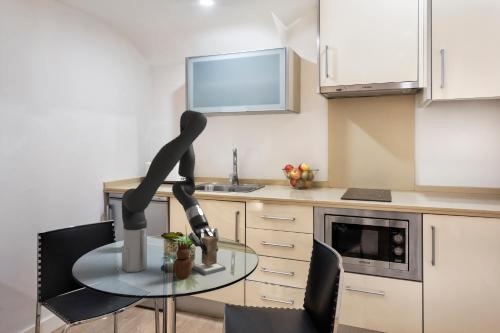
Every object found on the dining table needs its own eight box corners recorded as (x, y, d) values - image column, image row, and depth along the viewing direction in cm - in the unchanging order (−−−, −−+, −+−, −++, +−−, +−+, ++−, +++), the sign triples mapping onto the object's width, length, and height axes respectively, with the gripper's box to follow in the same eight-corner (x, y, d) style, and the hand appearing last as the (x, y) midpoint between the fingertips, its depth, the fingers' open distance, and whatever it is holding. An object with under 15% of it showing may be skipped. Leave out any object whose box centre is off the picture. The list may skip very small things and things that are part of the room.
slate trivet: (205, 275, 138) (205, 272, 138) (192, 268, 146) (192, 265, 146) (225, 269, 145) (225, 266, 145) (212, 263, 152) (212, 260, 152)
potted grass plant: (174, 280, 132) (174, 242, 131) (173, 274, 138) (173, 238, 137) (192, 279, 134) (192, 241, 133) (190, 273, 140) (190, 237, 139)
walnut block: (207, 265, 142) (207, 239, 141) (201, 262, 145) (201, 237, 145) (216, 263, 145) (216, 237, 144) (210, 260, 148) (210, 235, 148)
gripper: (185, 215, 145) (200, 251, 137) (213, 211, 154) (229, 244, 146) (179, 225, 149) (193, 260, 141) (207, 221, 158) (222, 253, 150)
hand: (211, 252), depth 143 cm, fingers closed on walnut block, 4 cm apart
